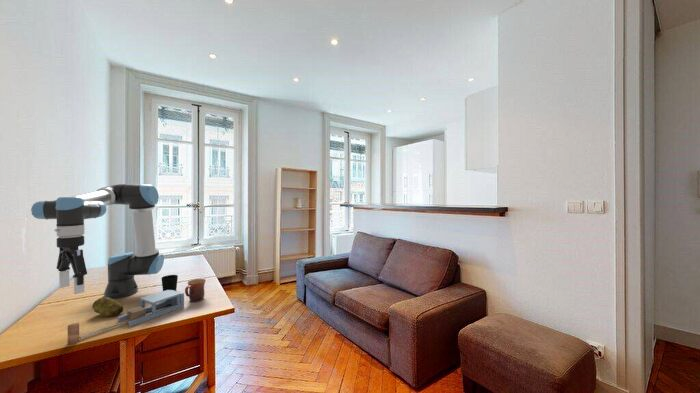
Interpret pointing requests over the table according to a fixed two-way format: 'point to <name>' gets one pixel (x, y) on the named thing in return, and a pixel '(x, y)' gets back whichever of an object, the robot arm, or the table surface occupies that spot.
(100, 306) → the dirty green tuber
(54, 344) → the table surface
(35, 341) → the table surface
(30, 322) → the table surface
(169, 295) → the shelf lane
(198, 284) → the mug
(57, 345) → the table surface
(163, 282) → the cup
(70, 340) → the wooden mallet
